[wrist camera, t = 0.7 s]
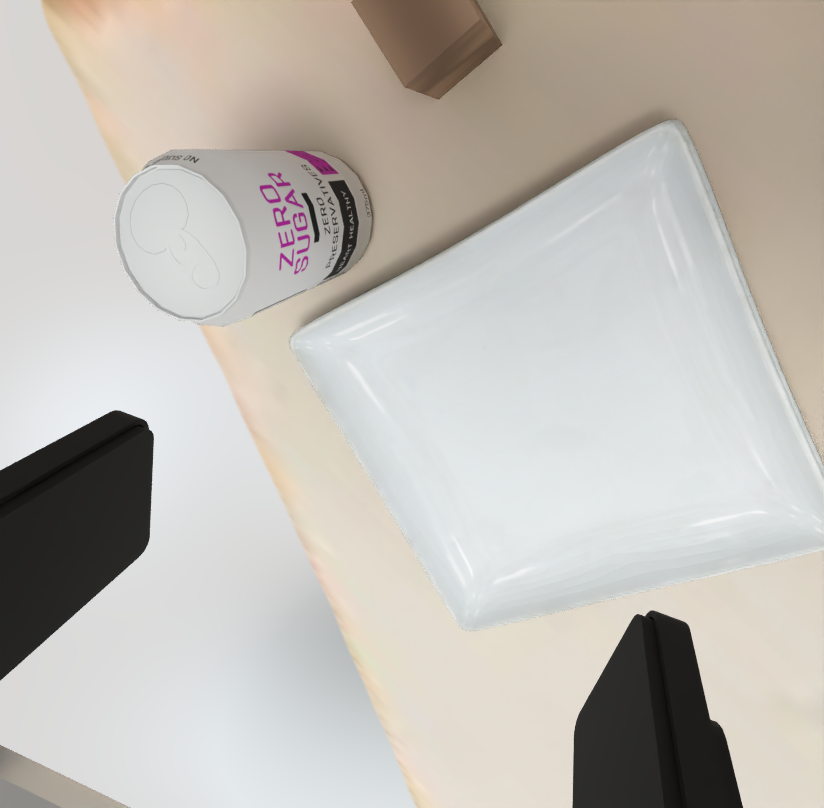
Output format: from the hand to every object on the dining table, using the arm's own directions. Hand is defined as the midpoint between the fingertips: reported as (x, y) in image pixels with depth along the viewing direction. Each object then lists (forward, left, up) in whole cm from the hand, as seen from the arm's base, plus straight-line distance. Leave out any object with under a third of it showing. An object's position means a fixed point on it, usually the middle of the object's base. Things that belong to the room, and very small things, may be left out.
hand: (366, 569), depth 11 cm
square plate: (+4, +9, -30) cm, 32 cm away
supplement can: (+10, -11, -30) cm, 34 cm away
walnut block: (-3, -14, -30) cm, 33 cm away
